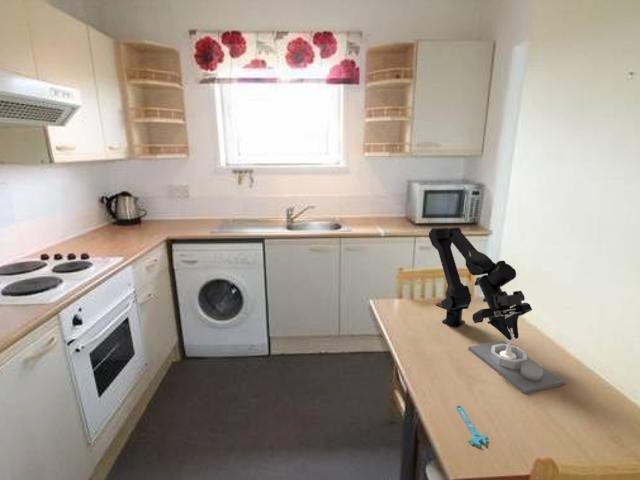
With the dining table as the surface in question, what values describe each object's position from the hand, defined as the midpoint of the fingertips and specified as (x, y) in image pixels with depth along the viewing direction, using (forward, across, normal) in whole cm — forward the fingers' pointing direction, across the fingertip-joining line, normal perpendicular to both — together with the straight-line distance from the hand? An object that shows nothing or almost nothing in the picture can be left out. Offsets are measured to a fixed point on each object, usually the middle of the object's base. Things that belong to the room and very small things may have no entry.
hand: (513, 339), depth 114 cm
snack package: (-25, +8, +39) cm, 47 cm away
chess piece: (+4, 0, +6) cm, 7 cm away
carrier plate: (+7, 0, +6) cm, 9 cm away
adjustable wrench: (+20, -29, -7) cm, 36 cm away
